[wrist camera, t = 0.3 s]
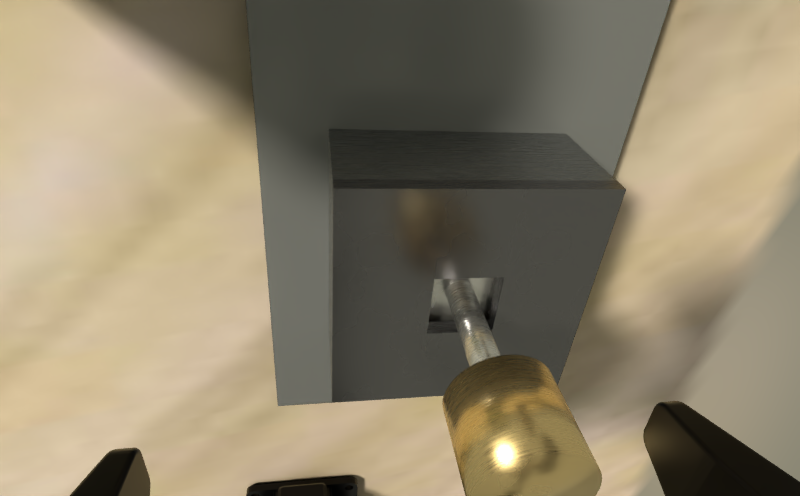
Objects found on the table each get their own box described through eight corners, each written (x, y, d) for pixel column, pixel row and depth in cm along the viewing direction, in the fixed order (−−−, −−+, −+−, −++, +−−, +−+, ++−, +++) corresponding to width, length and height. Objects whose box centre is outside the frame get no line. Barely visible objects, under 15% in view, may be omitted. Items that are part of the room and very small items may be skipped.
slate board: (535, 375, 29) (542, 389, 28) (278, 390, 27) (277, 405, 26) (661, -27, 18) (678, -23, 17) (244, -58, 16) (241, -55, 15)
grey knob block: (519, 313, 25) (556, 388, 21) (328, 320, 23) (332, 402, 20) (566, 133, 20) (625, 189, 16) (328, 129, 19) (333, 188, 15)
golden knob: (494, 317, 20) (586, 529, 14) (402, 320, 20) (451, 544, 13) (512, 239, 18) (630, 441, 12) (411, 240, 18) (473, 455, 11)
